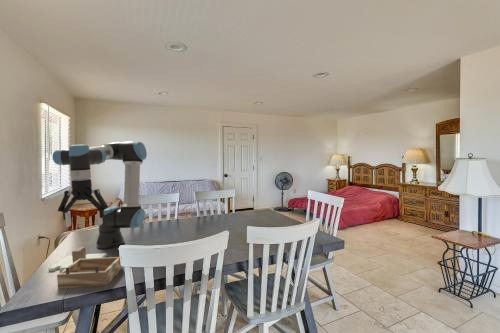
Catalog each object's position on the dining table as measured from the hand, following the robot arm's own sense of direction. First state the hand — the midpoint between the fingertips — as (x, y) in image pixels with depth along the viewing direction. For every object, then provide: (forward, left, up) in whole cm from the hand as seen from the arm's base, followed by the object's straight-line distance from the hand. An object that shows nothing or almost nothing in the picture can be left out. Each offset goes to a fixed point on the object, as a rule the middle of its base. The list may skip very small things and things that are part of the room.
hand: (84, 225), depth 116 cm
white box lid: (-17, -13, -25) cm, 32 cm away
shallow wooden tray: (0, +2, -25) cm, 25 cm away
